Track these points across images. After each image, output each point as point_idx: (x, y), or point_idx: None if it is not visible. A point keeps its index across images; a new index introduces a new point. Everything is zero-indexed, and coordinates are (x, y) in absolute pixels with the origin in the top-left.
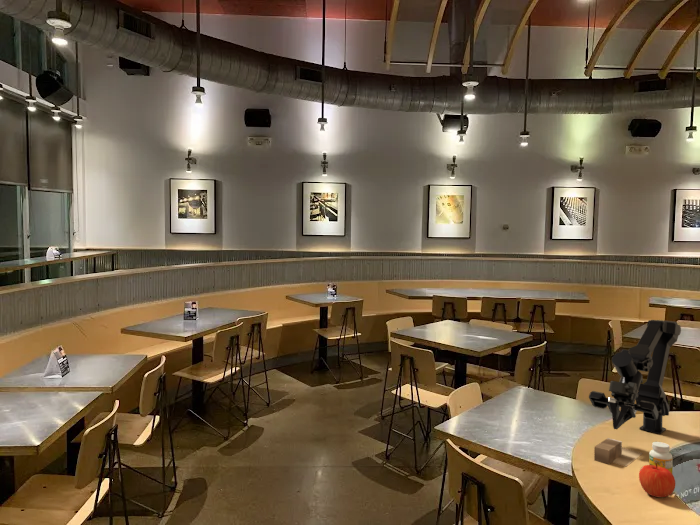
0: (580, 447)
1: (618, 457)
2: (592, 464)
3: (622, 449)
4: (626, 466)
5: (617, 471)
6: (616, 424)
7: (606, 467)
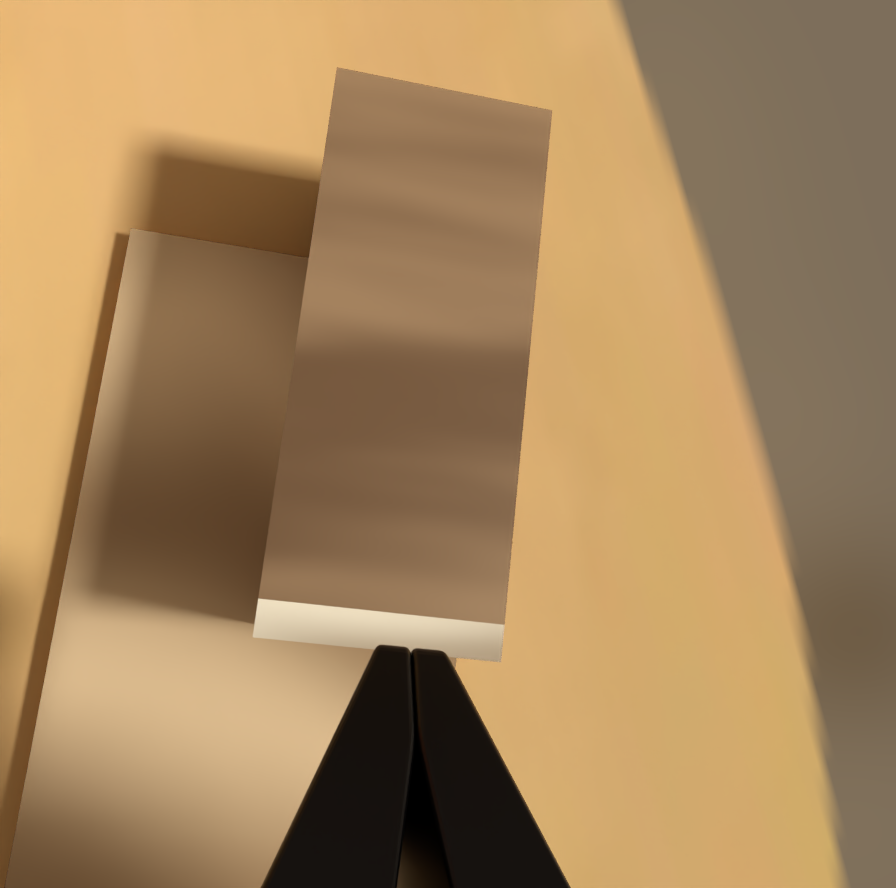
0: (771, 574)
1: None
2: None
3: None
4: (129, 238)
5: (205, 76)
6: (383, 705)
7: None
